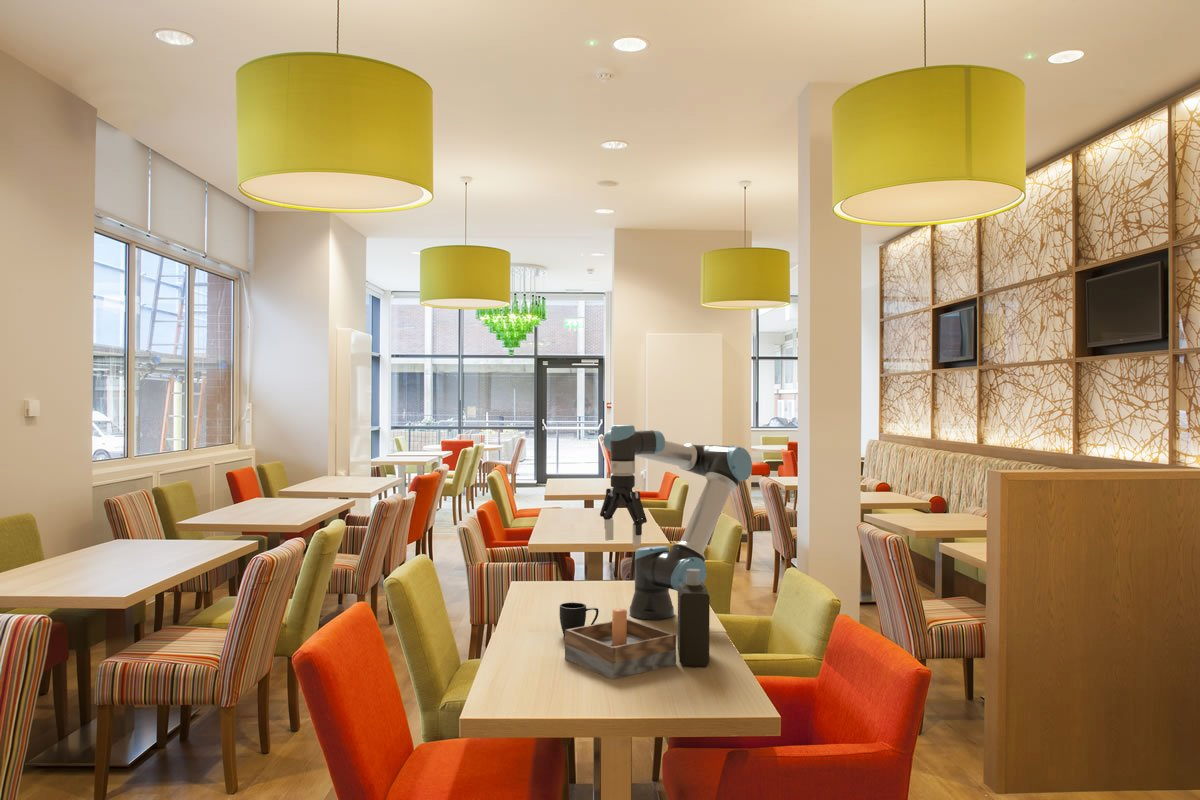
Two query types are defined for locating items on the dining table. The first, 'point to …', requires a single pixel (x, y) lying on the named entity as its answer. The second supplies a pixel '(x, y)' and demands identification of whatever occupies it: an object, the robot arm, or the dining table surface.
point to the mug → (574, 615)
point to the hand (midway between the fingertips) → (622, 543)
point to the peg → (619, 627)
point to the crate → (620, 649)
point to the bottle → (693, 621)
